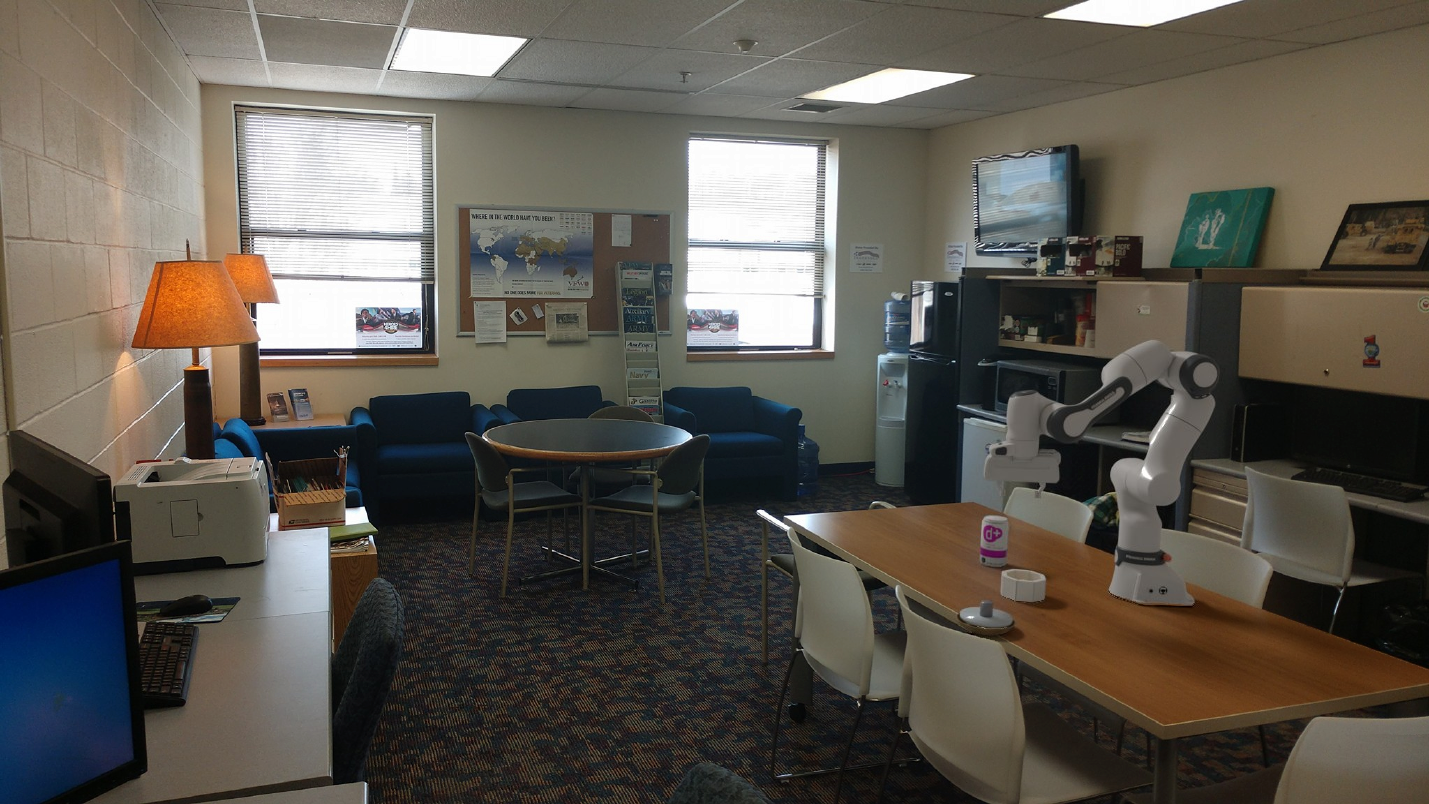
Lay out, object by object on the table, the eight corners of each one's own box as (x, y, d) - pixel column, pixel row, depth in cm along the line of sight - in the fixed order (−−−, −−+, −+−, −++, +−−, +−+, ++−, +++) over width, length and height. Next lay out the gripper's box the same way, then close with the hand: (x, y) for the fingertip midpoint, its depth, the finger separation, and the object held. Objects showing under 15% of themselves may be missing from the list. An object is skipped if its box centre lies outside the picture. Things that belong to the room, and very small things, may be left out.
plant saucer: (958, 636, 241) (958, 626, 241) (953, 617, 255) (953, 607, 255) (1019, 641, 239) (1019, 631, 238) (1010, 621, 253) (1011, 611, 253)
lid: (1010, 613, 252) (1011, 596, 251) (1014, 630, 239) (1015, 613, 239) (959, 608, 254) (960, 592, 254) (960, 625, 242) (961, 607, 241)
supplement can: (1000, 569, 299) (1003, 522, 298) (975, 564, 304) (978, 518, 302) (1010, 563, 306) (1013, 517, 304) (985, 558, 311) (988, 513, 309)
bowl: (1041, 591, 278) (1042, 571, 277) (1046, 604, 267) (1047, 583, 266) (999, 587, 280) (1000, 567, 280) (1002, 600, 269) (1004, 579, 269)
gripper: (1059, 447, 269) (1057, 496, 271) (983, 445, 273) (982, 493, 275) (1062, 451, 263) (1060, 501, 265) (985, 449, 267) (983, 498, 269)
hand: (1020, 497), depth 270 cm, fingers open, 8 cm apart
